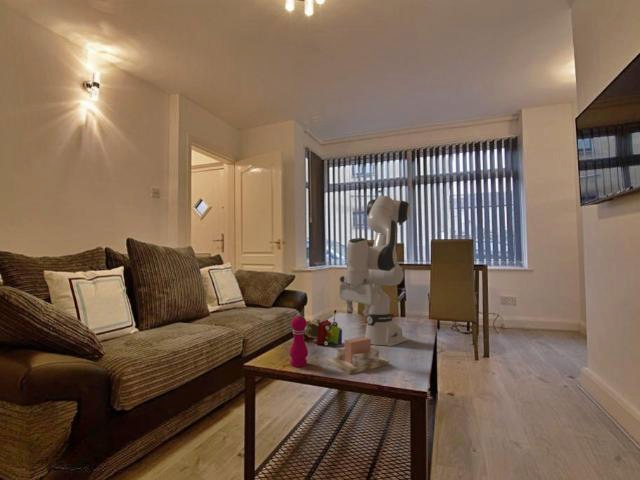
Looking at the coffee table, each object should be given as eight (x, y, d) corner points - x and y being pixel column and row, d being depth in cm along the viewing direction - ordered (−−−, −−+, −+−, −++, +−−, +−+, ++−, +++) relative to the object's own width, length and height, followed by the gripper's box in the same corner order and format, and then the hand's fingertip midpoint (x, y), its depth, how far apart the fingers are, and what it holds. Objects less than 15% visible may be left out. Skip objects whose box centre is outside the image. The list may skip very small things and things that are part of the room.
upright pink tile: (364, 356, 133) (364, 336, 134) (370, 359, 130) (370, 338, 130) (344, 360, 128) (344, 340, 128) (351, 363, 125) (351, 342, 125)
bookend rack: (365, 355, 140) (365, 342, 140) (388, 364, 129) (388, 350, 129) (326, 363, 129) (326, 349, 130) (348, 374, 118) (348, 358, 118)
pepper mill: (305, 368, 124) (305, 314, 125) (287, 366, 125) (287, 314, 126) (309, 362, 131) (310, 311, 132) (292, 360, 132) (292, 310, 133)
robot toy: (336, 350, 150) (299, 340, 159) (344, 345, 158) (309, 336, 167) (340, 313, 150) (302, 306, 159) (348, 310, 158) (312, 303, 167)
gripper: (381, 280, 123) (382, 317, 123) (348, 276, 141) (348, 308, 140) (369, 281, 120) (369, 319, 120) (336, 277, 137) (336, 310, 137)
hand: (358, 313), depth 130 cm, fingers open, 8 cm apart
